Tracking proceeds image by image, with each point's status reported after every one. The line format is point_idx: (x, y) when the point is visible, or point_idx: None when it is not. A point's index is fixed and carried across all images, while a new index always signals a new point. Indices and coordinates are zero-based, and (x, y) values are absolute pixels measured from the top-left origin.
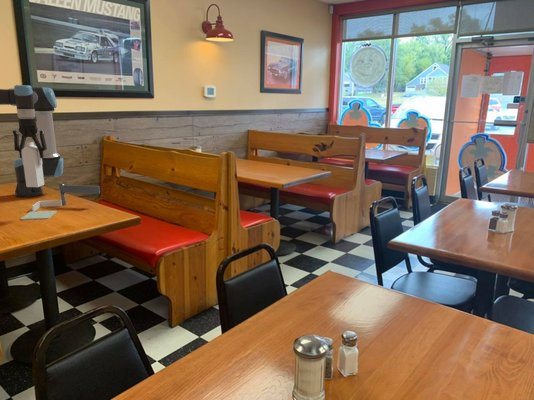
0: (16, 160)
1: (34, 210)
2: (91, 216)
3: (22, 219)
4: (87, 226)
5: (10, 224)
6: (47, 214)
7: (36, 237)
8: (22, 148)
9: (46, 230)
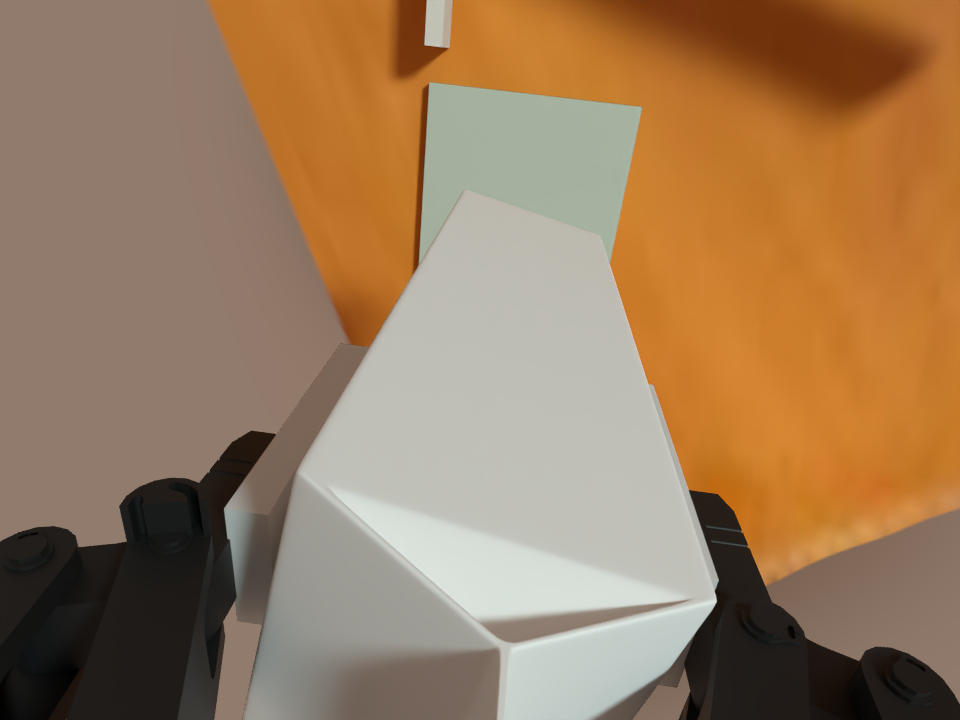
0: None
1: (449, 32)
2: (899, 312)
3: None
4: (836, 509)
5: None
6: (581, 214)
7: None
8: (176, 605)
9: None
